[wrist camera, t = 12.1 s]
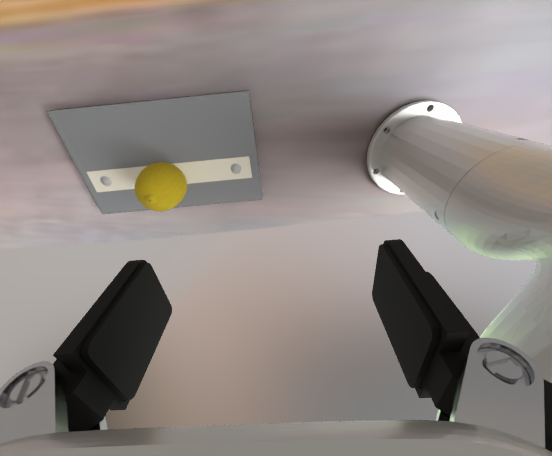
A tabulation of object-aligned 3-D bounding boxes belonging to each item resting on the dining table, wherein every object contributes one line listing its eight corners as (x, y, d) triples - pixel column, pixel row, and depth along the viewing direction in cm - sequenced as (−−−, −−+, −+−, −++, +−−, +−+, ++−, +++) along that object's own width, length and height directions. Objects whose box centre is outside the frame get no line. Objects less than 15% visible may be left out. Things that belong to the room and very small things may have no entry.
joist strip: (249, 156, 33) (248, 156, 32) (252, 177, 34) (252, 177, 34) (86, 171, 33) (86, 172, 33) (97, 192, 35) (96, 192, 34)
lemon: (171, 199, 35) (149, 229, 29) (142, 167, 33) (110, 192, 26) (201, 181, 34) (186, 208, 27) (174, 146, 31) (149, 166, 25)
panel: (249, 90, 30) (248, 91, 29) (262, 195, 37) (262, 199, 36) (55, 109, 30) (46, 111, 29) (107, 209, 38) (102, 214, 36)
